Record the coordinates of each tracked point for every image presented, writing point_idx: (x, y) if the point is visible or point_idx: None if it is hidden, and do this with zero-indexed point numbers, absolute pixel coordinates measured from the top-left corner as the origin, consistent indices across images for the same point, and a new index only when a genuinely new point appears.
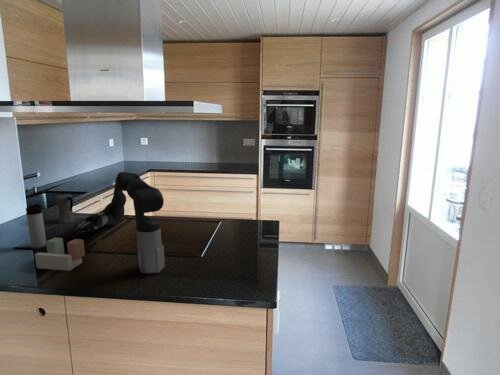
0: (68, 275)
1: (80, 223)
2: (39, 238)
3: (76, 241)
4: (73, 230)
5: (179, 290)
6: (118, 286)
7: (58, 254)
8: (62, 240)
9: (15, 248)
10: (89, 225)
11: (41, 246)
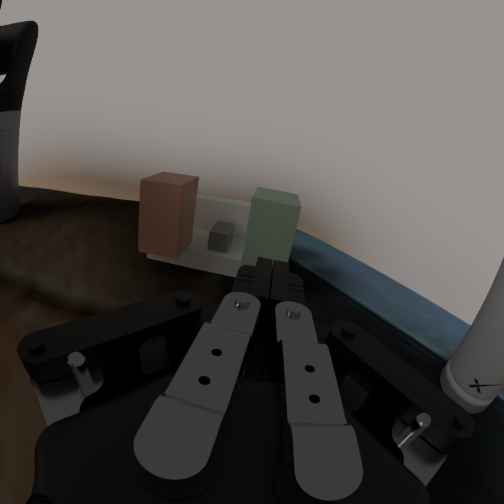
0: None
1: (413, 473)
2: (468, 332)
3: (165, 176)
4: (279, 261)
5: None
6: (69, 196)
7: (213, 198)
8: (250, 208)
9: None
10: (152, 382)
11: (443, 371)
